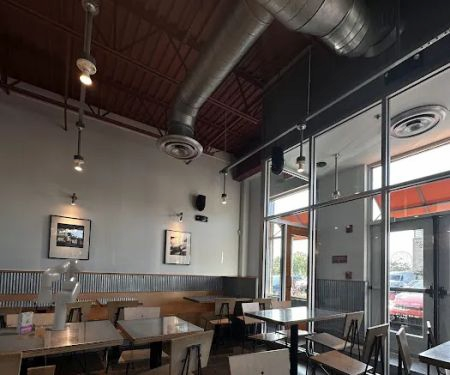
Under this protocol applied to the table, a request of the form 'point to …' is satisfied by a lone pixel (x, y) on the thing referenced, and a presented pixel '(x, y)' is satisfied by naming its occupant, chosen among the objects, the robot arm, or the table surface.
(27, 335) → the post board
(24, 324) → the candy bar box
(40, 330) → the collar
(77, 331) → the table surface
